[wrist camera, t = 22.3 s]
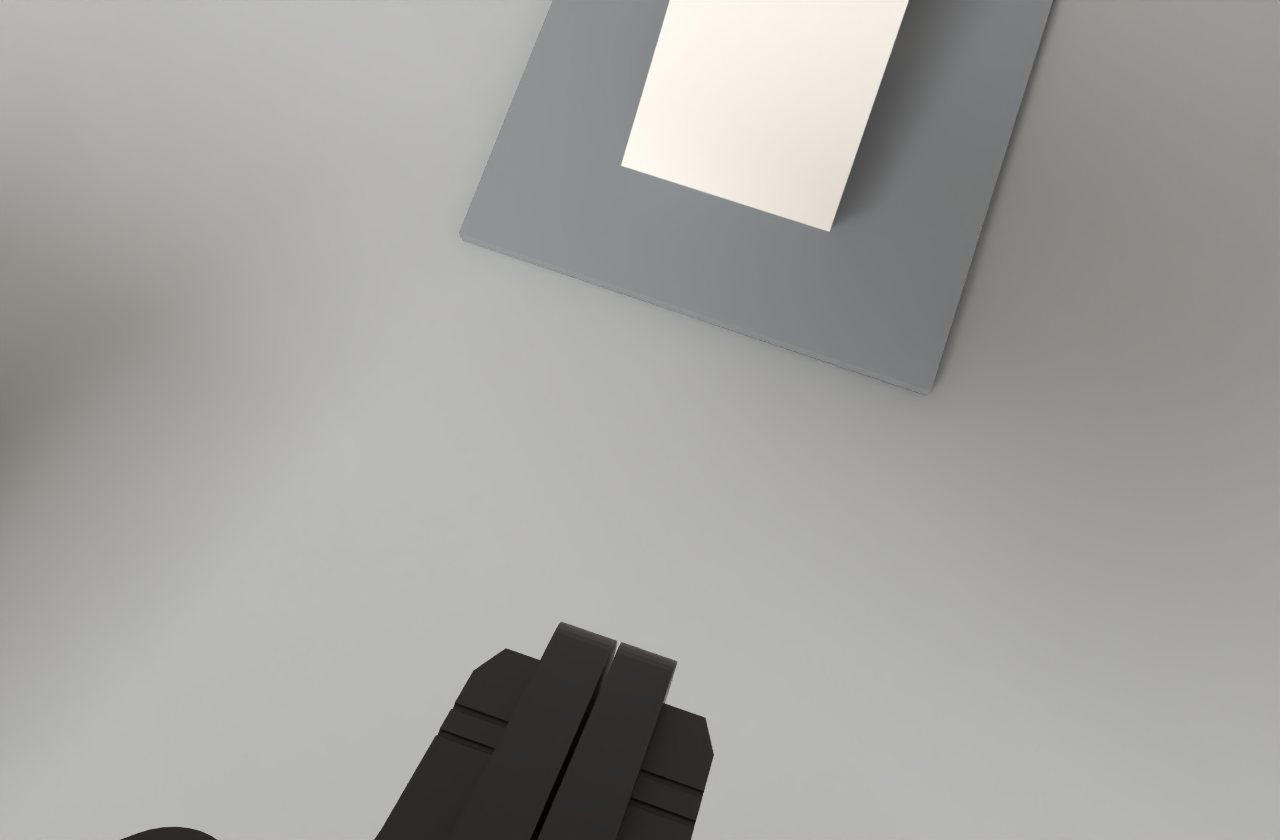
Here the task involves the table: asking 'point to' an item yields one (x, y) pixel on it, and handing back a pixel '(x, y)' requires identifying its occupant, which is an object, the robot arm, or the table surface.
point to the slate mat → (751, 238)
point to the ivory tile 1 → (763, 99)
